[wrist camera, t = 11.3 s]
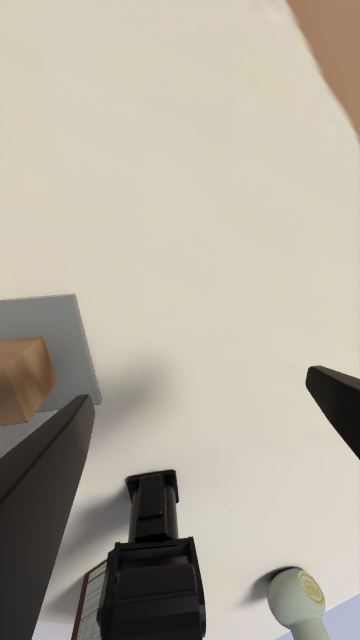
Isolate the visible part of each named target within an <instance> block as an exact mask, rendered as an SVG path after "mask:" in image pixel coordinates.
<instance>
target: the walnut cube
mask: <svg viewBox="0 0 360 640" xmlns="http://www.w3.org/2000/svg"><path fill="white" fill-rule="evenodd" d="M57 382H58V381H57V378H56V375H55V372H54V369H53V366H52V363H51V360H50V357H49V354H48V351H47V348H46V345H45V342H44V339H43V336H39V337H28V338H18V339H7V340H0V426H4V425H12V424H20V423H28V422H29V420H30V419H31V417H32V416H33V415H34V413H35V412H36V411H37V409H38V408H39V406H40V405H41V404H42V402H43V401H44V400H45V398H46V397H47V395H48V394H49V393H50V391H51V390H52V389H53V387H54V386H55V384H56V383H57Z"/></svg>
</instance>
